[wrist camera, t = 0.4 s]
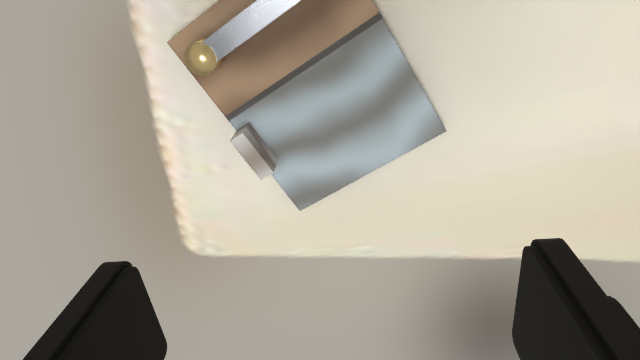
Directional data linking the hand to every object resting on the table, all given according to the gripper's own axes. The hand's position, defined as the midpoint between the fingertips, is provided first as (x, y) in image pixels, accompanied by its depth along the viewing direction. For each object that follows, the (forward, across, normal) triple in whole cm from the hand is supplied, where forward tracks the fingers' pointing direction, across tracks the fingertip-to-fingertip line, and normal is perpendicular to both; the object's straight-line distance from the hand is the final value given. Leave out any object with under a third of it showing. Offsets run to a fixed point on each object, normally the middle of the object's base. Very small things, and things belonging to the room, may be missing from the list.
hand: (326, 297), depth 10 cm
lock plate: (+34, +4, +3) cm, 34 cm away
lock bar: (+32, +7, -4) cm, 33 cm away
